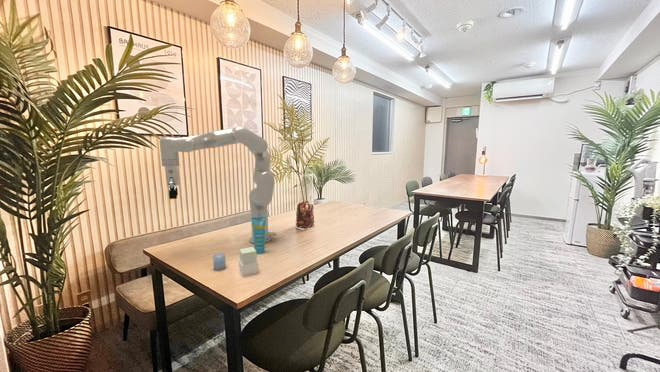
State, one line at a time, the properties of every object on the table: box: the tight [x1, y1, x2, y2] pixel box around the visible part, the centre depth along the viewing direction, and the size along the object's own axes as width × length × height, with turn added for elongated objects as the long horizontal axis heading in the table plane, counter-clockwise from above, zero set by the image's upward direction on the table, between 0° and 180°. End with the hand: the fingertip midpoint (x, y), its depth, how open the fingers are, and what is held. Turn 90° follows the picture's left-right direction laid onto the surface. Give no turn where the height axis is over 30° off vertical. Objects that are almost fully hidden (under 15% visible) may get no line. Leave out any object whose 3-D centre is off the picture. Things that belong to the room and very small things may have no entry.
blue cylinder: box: [212, 253, 227, 271], centre depth 124 cm, size 5×5×6 cm
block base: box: [238, 259, 260, 277], centre depth 121 cm, size 7×7×5 cm
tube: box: [250, 216, 266, 255], centre depth 142 cm, size 7×5×19 cm, turn 103°
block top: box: [239, 246, 258, 265], centre depth 120 cm, size 6×6×5 cm
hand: (173, 197), depth 135 cm, fingers open, 9 cm apart
